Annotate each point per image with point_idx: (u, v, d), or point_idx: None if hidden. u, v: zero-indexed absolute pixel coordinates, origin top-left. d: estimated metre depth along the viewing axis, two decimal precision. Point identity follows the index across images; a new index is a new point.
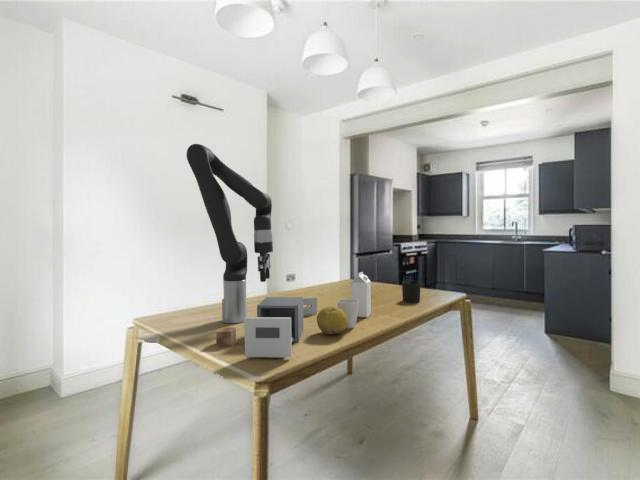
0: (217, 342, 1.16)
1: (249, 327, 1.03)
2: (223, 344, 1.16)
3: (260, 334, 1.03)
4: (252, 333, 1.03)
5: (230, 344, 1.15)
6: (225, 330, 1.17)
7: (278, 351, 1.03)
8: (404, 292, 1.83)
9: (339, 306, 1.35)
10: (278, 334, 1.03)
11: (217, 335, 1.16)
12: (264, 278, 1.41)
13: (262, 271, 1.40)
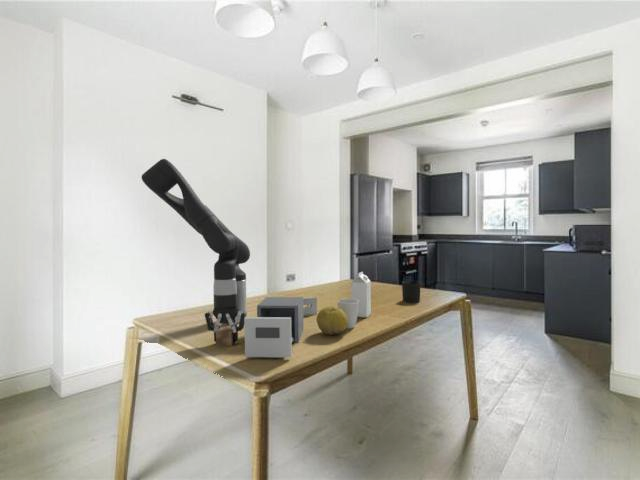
0: (217, 342, 1.16)
1: (249, 327, 1.03)
2: (223, 344, 1.16)
3: (260, 334, 1.03)
4: (252, 333, 1.03)
5: (230, 344, 1.15)
6: (225, 330, 1.17)
7: (278, 351, 1.03)
8: (404, 292, 1.83)
9: (339, 306, 1.35)
10: (278, 334, 1.03)
11: (217, 335, 1.16)
12: None
13: None
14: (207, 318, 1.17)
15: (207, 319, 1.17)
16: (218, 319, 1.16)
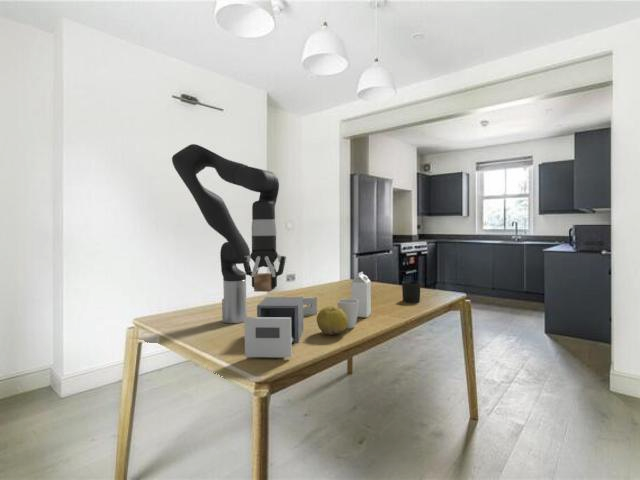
0: (255, 286, 1.08)
1: (249, 327, 1.03)
2: (261, 289, 1.08)
3: (260, 334, 1.03)
4: (252, 333, 1.03)
5: (269, 288, 1.08)
6: (263, 274, 1.09)
7: (278, 351, 1.03)
8: (404, 292, 1.83)
9: (339, 306, 1.35)
10: (278, 334, 1.03)
11: (255, 279, 1.08)
12: None
13: (279, 274, 1.10)
14: (245, 262, 1.10)
15: (245, 263, 1.10)
16: (256, 262, 1.09)
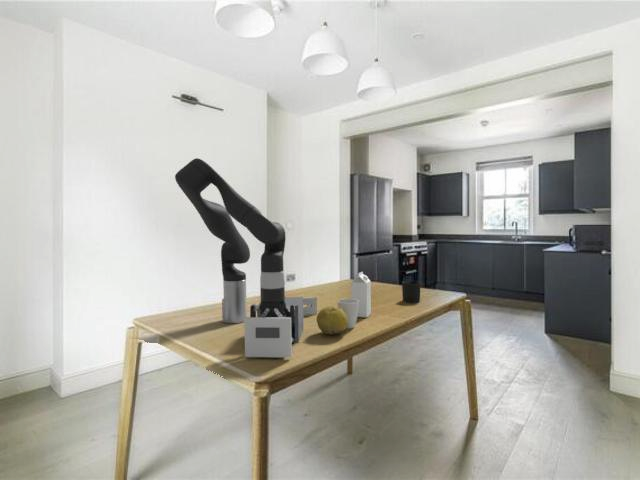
0: None
1: (249, 327, 1.03)
2: None
3: (260, 334, 1.03)
4: (252, 333, 1.03)
5: None
6: None
7: (278, 351, 1.03)
8: (404, 292, 1.83)
9: (339, 306, 1.35)
10: (278, 334, 1.03)
11: None
12: None
13: (292, 323, 1.11)
14: (252, 311, 1.10)
15: (252, 312, 1.10)
16: (264, 313, 1.10)
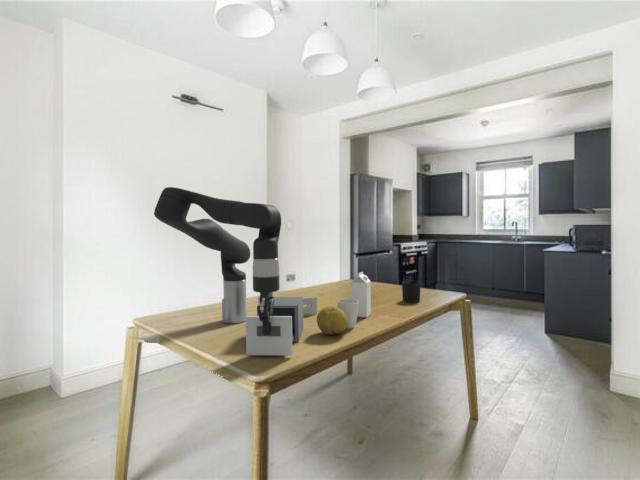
0: None
1: (250, 326, 1.05)
2: None
3: (261, 332, 1.04)
4: (253, 331, 1.05)
5: None
6: None
7: (279, 349, 1.04)
8: (404, 292, 1.83)
9: (339, 306, 1.35)
10: (279, 332, 1.04)
11: None
12: None
13: None
14: (267, 310, 0.97)
15: (267, 311, 0.97)
16: (271, 305, 1.00)
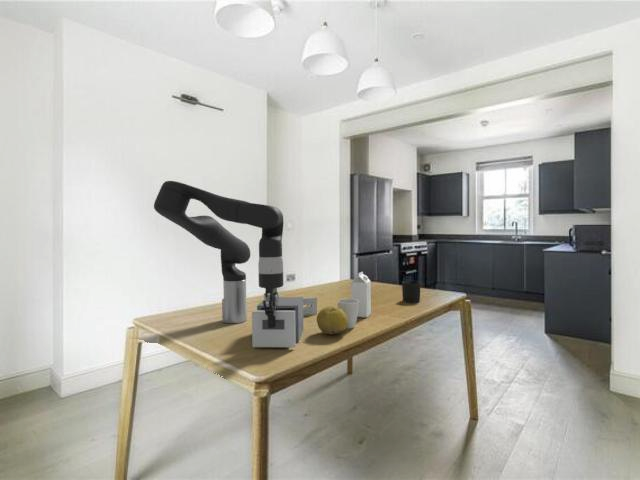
0: None
1: (256, 320, 1.12)
2: None
3: (266, 326, 1.12)
4: (259, 325, 1.12)
5: None
6: None
7: (283, 341, 1.12)
8: (404, 292, 1.83)
9: (339, 306, 1.35)
10: (283, 326, 1.11)
11: None
12: None
13: None
14: (272, 305, 1.04)
15: (272, 306, 1.04)
16: (276, 300, 1.07)
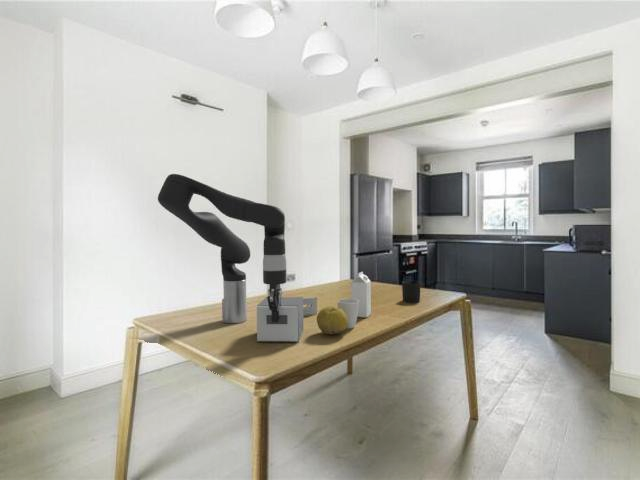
0: None
1: (261, 315, 1.18)
2: None
3: (270, 321, 1.18)
4: (263, 320, 1.18)
5: None
6: None
7: (286, 335, 1.18)
8: (404, 292, 1.83)
9: (339, 306, 1.35)
10: (286, 321, 1.18)
11: None
12: None
13: None
14: (276, 300, 1.10)
15: (276, 301, 1.10)
16: (279, 296, 1.14)
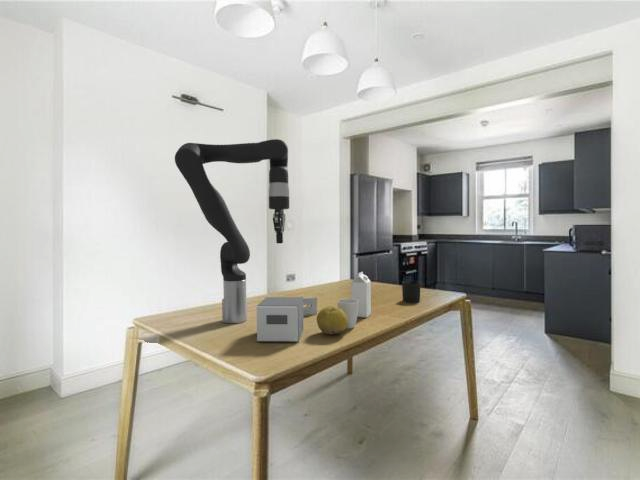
0: None
1: (261, 315, 1.18)
2: None
3: (270, 321, 1.18)
4: (263, 320, 1.18)
5: None
6: None
7: (286, 336, 1.18)
8: (404, 292, 1.83)
9: (339, 306, 1.35)
10: (286, 321, 1.18)
11: None
12: None
13: None
14: (280, 221, 1.25)
15: (280, 222, 1.25)
16: (283, 220, 1.29)
